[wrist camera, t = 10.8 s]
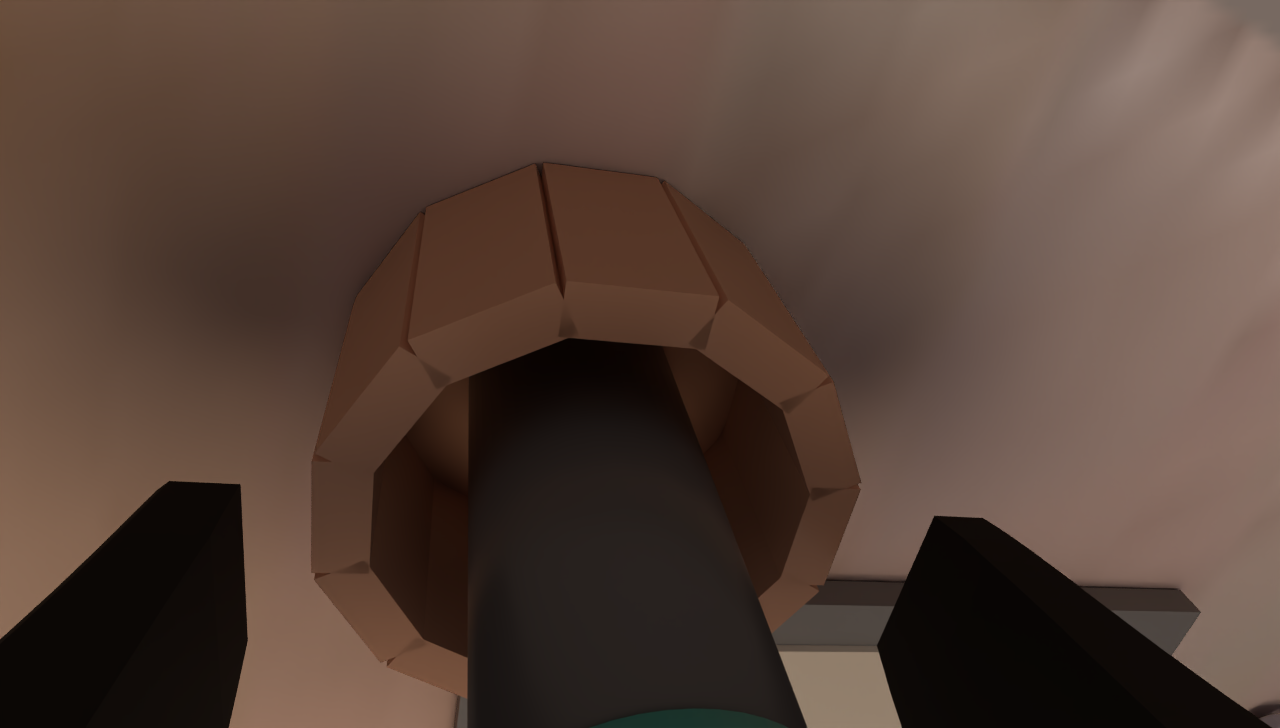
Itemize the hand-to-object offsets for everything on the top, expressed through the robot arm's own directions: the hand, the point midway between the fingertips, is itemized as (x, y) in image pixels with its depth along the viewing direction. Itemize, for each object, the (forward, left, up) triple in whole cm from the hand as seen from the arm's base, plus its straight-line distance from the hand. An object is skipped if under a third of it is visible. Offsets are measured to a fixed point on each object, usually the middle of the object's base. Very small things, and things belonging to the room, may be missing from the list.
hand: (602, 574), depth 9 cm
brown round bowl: (0, 0, -4) cm, 4 cm away
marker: (0, 0, -4) cm, 4 cm away
